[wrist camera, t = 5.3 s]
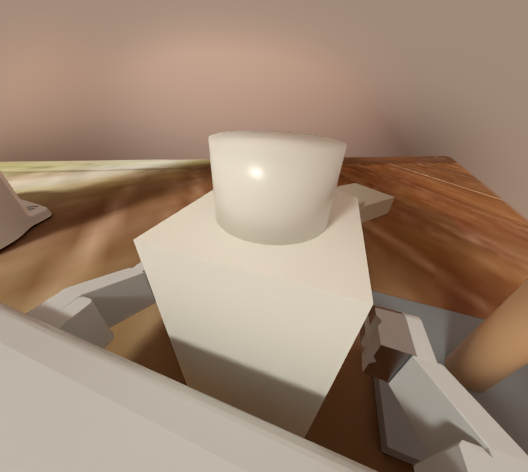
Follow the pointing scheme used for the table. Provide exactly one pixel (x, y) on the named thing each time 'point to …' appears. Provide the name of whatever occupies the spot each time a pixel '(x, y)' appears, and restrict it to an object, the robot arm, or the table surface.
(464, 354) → the peg stand
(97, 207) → the table surface
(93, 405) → the robot arm
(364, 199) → the electrical outlet
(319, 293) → the tapered lotion bottle
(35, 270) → the table surface
